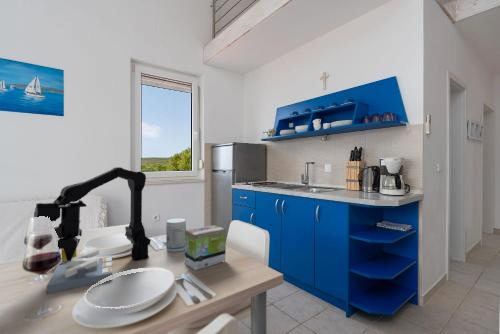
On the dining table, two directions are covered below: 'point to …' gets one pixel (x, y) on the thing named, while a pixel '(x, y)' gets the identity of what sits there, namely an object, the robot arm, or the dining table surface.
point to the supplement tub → (175, 235)
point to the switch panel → (79, 275)
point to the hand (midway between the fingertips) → (69, 260)
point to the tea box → (205, 246)
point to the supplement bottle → (64, 259)
